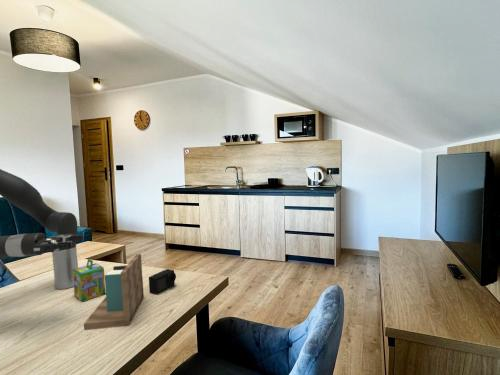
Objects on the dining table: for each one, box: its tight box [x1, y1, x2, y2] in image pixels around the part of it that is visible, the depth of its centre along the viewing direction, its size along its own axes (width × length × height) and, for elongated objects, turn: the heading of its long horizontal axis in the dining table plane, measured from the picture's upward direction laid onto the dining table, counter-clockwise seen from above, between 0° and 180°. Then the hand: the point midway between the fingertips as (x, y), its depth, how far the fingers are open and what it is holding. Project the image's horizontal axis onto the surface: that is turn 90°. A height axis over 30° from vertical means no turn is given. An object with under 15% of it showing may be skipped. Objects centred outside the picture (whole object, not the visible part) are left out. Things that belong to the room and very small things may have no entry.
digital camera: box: [148, 268, 177, 296], centre depth 121 cm, size 10×5×7 cm, turn 150°
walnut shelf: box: [83, 253, 145, 330], centre depth 103 cm, size 20×14×18 cm
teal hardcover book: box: [104, 270, 123, 312], centre depth 102 cm, size 4×7×13 cm, turn 97°
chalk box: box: [73, 258, 106, 303], centre depth 118 cm, size 9×9×15 cm
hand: (77, 241), depth 99 cm, fingers open, 8 cm apart
